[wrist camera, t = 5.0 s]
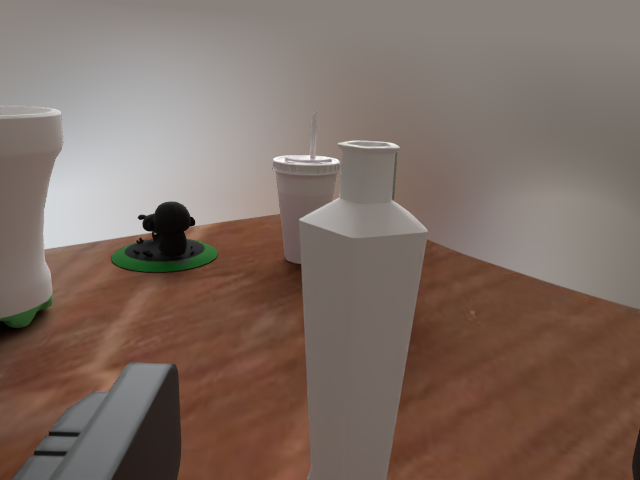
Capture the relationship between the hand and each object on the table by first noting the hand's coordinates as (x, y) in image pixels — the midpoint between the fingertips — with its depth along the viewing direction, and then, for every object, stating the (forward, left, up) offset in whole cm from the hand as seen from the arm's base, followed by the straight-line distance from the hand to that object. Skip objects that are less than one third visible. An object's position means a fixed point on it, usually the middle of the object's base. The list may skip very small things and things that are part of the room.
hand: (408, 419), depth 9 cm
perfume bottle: (+9, +7, -12) cm, 16 cm away
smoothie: (+32, +30, -12) cm, 45 cm away
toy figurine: (+23, +40, -12) cm, 48 cm away
